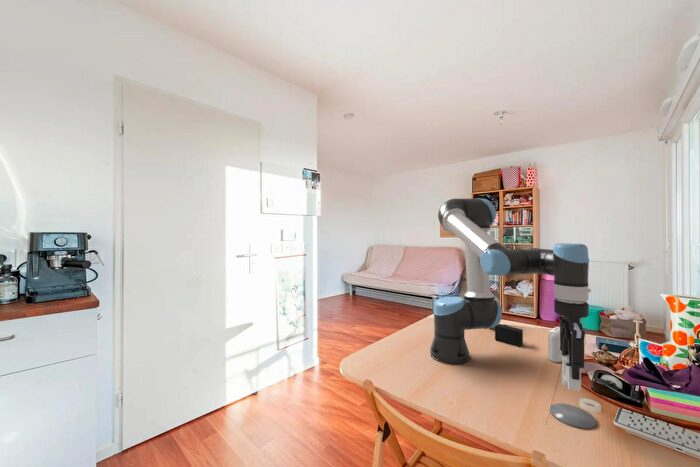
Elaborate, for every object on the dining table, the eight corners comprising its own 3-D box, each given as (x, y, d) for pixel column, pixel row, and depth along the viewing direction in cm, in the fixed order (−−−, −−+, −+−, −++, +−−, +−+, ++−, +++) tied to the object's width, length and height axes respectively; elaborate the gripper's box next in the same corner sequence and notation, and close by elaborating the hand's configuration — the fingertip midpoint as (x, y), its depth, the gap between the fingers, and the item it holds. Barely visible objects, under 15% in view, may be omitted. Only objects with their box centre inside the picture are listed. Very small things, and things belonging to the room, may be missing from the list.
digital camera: (524, 344, 130) (524, 328, 130) (519, 347, 126) (519, 331, 126) (500, 337, 138) (500, 323, 138) (495, 340, 135) (494, 325, 134)
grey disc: (554, 423, 77) (554, 420, 77) (546, 402, 86) (546, 400, 86) (602, 432, 73) (602, 430, 73) (588, 410, 82) (588, 408, 82)
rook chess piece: (575, 392, 77) (575, 361, 77) (557, 384, 81) (557, 355, 81) (585, 388, 78) (585, 358, 78) (567, 380, 82) (567, 352, 82)
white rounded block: (558, 353, 119) (558, 323, 119) (570, 357, 116) (570, 326, 116) (546, 360, 114) (546, 328, 114) (559, 364, 110) (559, 331, 110)
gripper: (600, 309, 70) (601, 406, 70) (577, 294, 86) (577, 373, 86) (563, 306, 73) (563, 399, 73) (547, 292, 89) (547, 368, 89)
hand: (571, 384), depth 80 cm, fingers closed on rook chess piece, 4 cm apart
